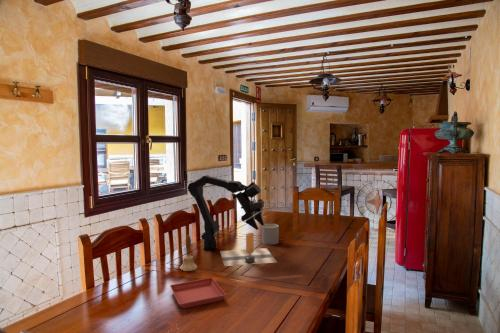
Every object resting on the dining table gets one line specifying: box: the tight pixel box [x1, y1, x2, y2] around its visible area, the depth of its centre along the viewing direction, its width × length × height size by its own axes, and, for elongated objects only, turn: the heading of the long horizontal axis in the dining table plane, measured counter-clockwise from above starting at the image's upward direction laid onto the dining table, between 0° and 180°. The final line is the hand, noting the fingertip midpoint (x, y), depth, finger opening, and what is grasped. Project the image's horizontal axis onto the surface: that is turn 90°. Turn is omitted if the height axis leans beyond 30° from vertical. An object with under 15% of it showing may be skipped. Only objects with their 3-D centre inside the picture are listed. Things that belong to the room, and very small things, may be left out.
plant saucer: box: [169, 277, 227, 309], centre depth 137 cm, size 18×18×3 cm
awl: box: [245, 232, 255, 263], centre depth 172 cm, size 5×5×14 cm
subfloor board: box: [219, 247, 278, 267], centre depth 181 cm, size 26×23×1 cm
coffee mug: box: [261, 223, 280, 246], centre depth 210 cm, size 13×10×10 cm
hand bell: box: [179, 234, 198, 272], centre depth 167 cm, size 8×8×16 cm
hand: (260, 227), depth 186 cm, fingers open, 9 cm apart
